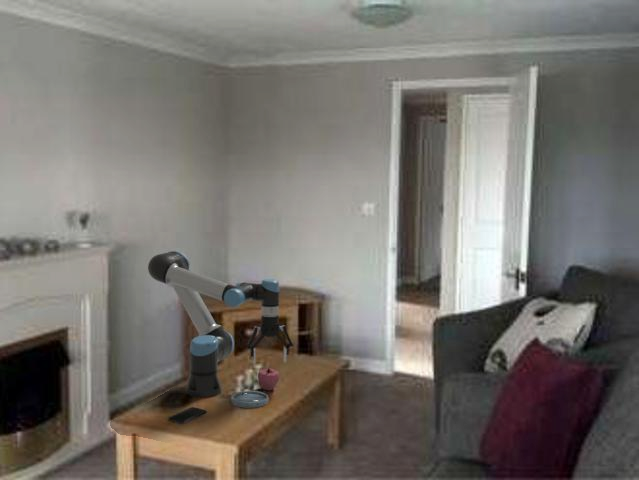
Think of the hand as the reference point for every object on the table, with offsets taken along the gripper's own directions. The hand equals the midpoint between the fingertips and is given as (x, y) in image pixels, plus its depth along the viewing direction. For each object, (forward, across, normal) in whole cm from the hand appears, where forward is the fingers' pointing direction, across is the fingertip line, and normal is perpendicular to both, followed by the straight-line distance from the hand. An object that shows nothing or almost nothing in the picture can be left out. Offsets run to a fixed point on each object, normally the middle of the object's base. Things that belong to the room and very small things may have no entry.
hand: (269, 363), depth 295 cm
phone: (+12, -36, -27) cm, 47 cm away
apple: (+12, 0, 0) cm, 12 cm away
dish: (+12, -10, -14) cm, 21 cm away
